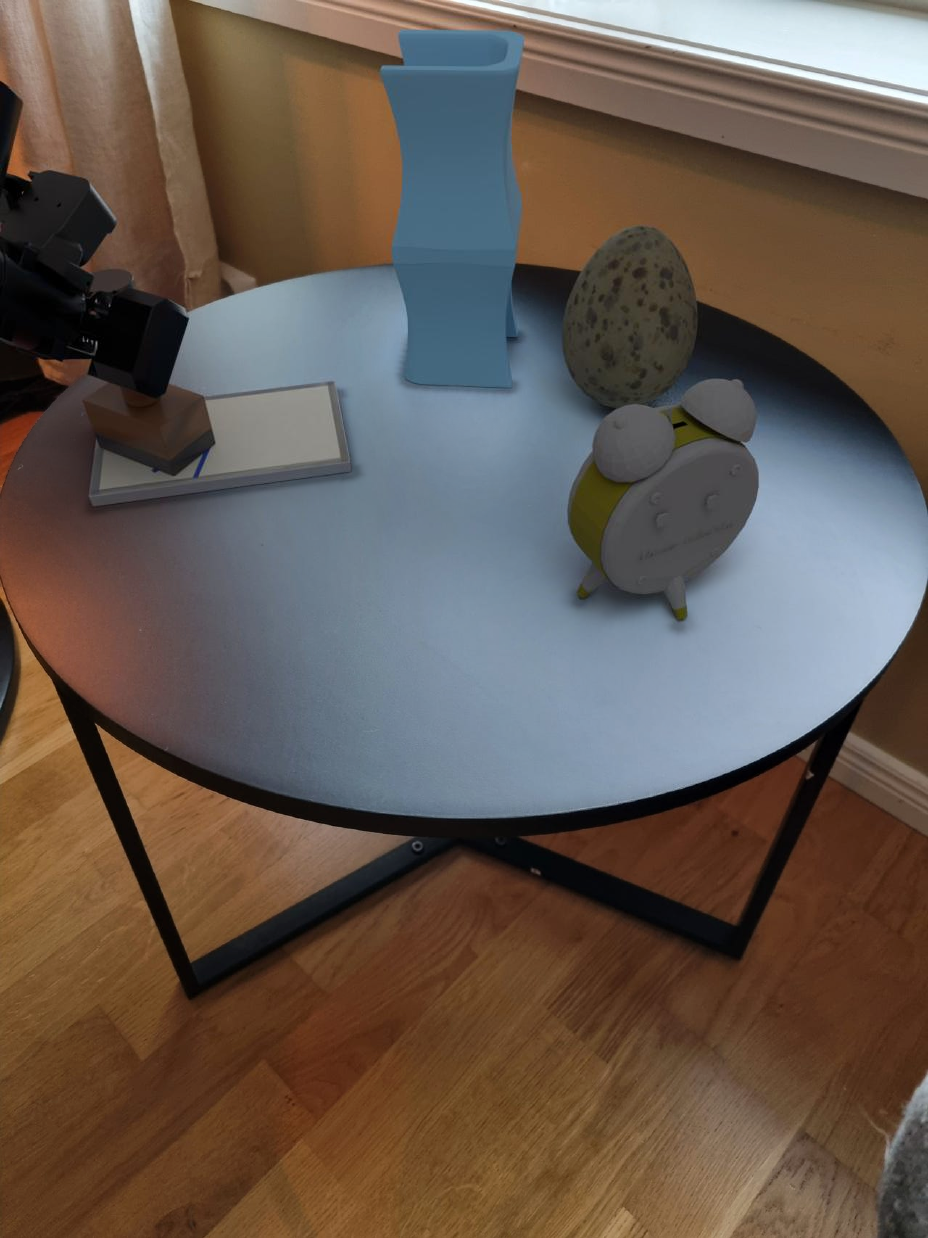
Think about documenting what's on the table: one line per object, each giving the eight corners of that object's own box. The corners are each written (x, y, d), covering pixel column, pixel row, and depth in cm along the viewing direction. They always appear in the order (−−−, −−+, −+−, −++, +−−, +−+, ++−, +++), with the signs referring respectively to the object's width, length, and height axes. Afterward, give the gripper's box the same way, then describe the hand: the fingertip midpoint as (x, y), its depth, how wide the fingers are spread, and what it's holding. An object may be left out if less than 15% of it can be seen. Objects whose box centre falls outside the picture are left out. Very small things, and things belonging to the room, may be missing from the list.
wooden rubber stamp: (174, 476, 71) (123, 308, 61) (99, 447, 74) (38, 282, 64) (216, 443, 74) (174, 277, 64) (142, 416, 77) (91, 253, 67)
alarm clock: (693, 535, 67) (733, 351, 56) (753, 593, 63) (809, 406, 52) (556, 587, 64) (570, 401, 53) (609, 653, 60) (637, 465, 49)
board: (92, 507, 71) (88, 496, 70) (103, 418, 79) (99, 408, 78) (351, 471, 73) (350, 461, 72) (336, 389, 81) (335, 379, 81)
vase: (416, 327, 89) (398, 28, 70) (518, 331, 88) (526, 29, 70) (401, 383, 82) (377, 69, 64) (511, 388, 81) (519, 70, 63)
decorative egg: (655, 450, 74) (684, 272, 64) (536, 414, 78) (544, 240, 67) (700, 385, 81) (734, 213, 70) (588, 355, 85) (603, 187, 74)
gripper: (126, 171, 51) (277, 279, 66) (-96, 120, 58) (87, 228, 72) (67, 363, 52) (229, 427, 67) (-144, 292, 59) (46, 364, 73)
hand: (145, 355), depth 70 cm, fingers closed on wooden rubber stamp, 3 cm apart
